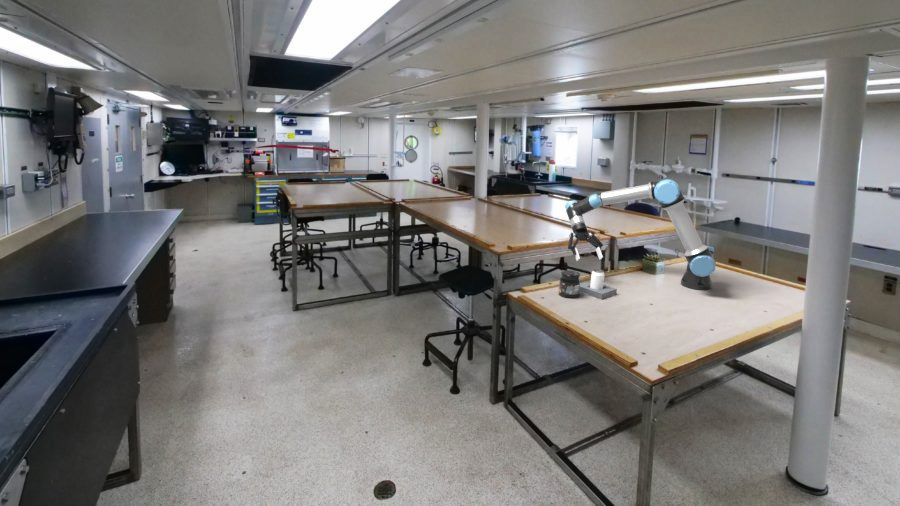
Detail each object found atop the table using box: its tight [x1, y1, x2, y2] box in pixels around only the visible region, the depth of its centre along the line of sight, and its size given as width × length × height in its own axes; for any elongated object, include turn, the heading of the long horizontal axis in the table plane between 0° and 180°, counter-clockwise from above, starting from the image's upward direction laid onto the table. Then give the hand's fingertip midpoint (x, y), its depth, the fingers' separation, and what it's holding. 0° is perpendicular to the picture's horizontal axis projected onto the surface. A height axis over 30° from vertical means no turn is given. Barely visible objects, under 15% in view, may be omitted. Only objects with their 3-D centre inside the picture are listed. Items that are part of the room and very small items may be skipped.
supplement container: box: [558, 269, 581, 299], centre depth 239 cm, size 10×10×12 cm
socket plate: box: [579, 279, 618, 300], centre depth 245 cm, size 16×13×4 cm
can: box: [590, 268, 605, 290], centre depth 244 cm, size 6×6×12 cm
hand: (589, 259), depth 249 cm, fingers open, 13 cm apart
